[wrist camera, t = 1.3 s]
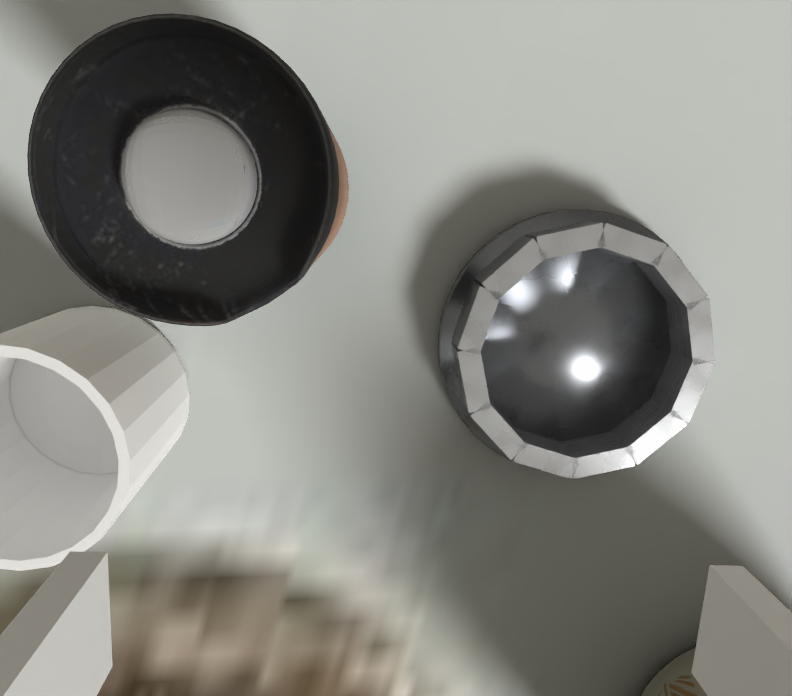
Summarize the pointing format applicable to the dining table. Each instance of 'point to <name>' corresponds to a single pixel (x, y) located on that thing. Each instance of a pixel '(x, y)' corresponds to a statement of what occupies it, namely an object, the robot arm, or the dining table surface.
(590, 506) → the dining table surface
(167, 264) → the travel mug
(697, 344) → the ring
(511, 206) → the dining table surface
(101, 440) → the mug
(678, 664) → the vase
